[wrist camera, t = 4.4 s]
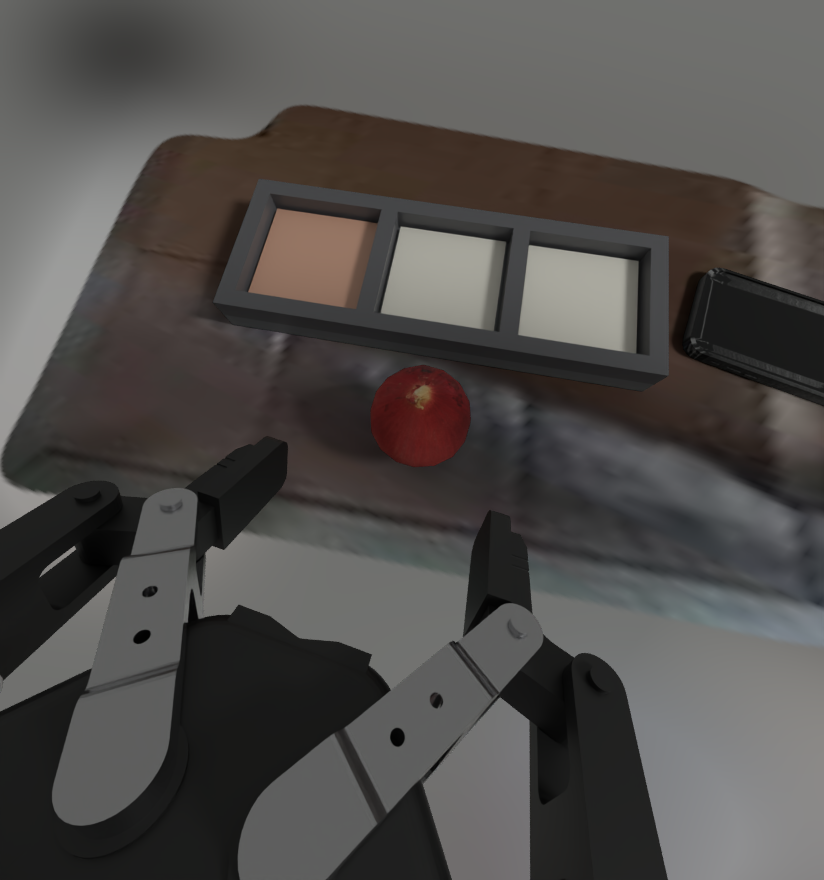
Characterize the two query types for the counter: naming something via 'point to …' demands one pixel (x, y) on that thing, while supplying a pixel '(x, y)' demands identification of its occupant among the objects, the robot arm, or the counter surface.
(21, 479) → the counter surface
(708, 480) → the counter surface
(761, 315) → the phone
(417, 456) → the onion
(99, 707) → the robot arm
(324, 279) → the terracotta key
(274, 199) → the keypad
